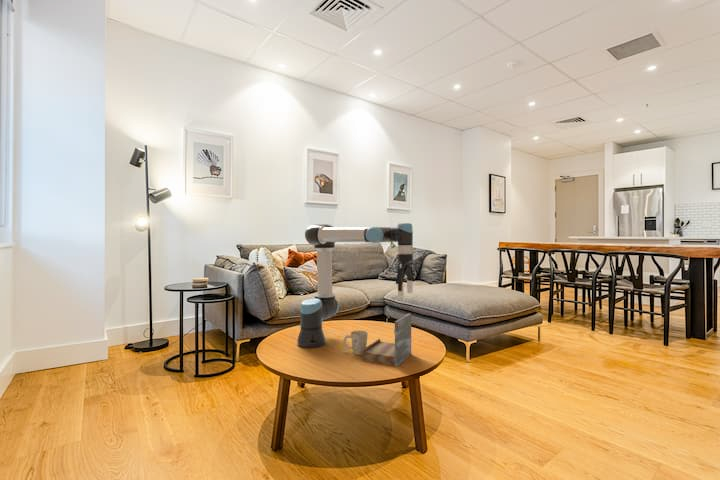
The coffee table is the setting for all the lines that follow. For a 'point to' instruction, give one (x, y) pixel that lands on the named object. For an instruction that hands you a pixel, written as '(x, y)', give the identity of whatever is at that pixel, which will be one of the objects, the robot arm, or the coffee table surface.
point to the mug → (357, 341)
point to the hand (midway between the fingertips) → (405, 295)
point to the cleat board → (392, 345)
